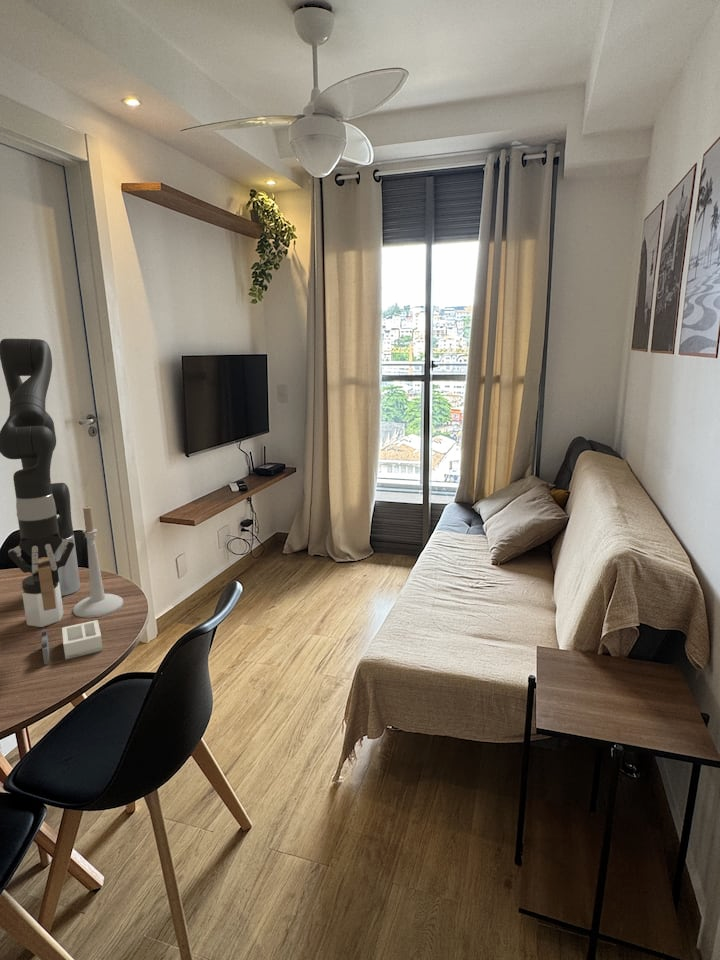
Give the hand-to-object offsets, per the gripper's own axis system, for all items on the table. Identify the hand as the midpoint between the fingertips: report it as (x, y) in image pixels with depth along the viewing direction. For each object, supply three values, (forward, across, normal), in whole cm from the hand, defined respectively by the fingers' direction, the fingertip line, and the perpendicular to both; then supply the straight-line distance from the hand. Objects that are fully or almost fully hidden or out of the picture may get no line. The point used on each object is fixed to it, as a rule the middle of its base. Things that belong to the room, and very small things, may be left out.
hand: (47, 585), depth 124 cm
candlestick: (+17, -11, -21) cm, 30 cm away
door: (+4, 0, 0) cm, 4 cm away
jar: (+17, +2, -20) cm, 27 cm away
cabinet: (+18, -4, 0) cm, 18 cm away
